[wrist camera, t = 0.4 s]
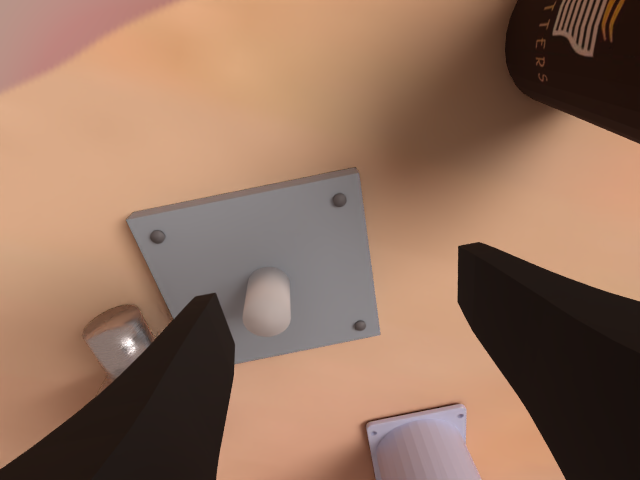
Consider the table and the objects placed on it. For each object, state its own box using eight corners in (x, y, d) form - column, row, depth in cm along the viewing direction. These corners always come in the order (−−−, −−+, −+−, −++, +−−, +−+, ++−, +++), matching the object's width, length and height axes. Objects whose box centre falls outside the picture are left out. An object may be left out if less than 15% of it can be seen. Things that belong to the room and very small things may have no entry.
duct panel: (376, 324, 24) (392, 371, 21) (201, 359, 24) (187, 412, 21) (355, 167, 19) (372, 193, 16) (133, 212, 19) (99, 248, 16)
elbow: (216, 401, 26) (198, 489, 21) (144, 415, 26) (109, 507, 21) (166, 295, 22) (127, 374, 16) (79, 313, 22) (13, 397, 16)
